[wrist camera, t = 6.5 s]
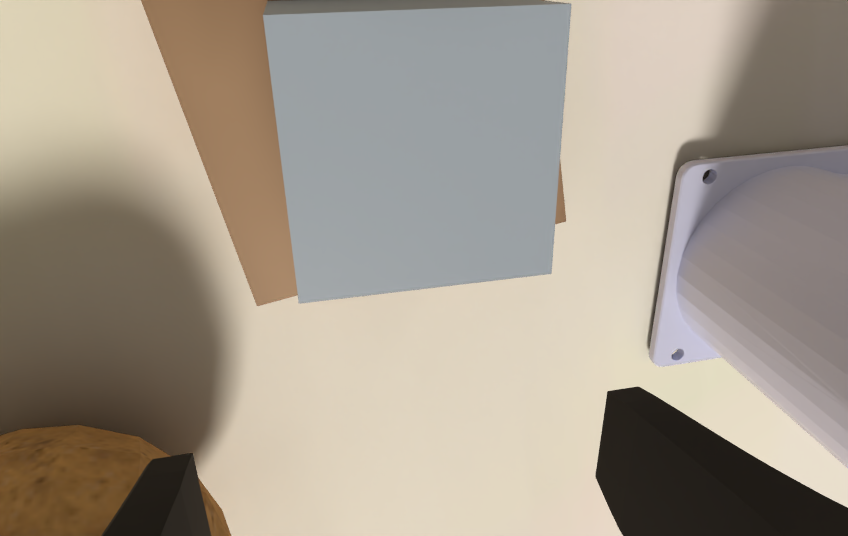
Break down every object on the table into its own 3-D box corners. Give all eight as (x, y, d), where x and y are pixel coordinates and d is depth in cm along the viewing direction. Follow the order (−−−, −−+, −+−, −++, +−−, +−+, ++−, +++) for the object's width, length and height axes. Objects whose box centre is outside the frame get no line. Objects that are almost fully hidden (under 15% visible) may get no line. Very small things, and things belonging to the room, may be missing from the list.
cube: (483, -7, 15) (570, 3, 10) (479, 194, 17) (551, 273, 13) (267, 1, 14) (263, 15, 9) (293, 212, 16) (299, 303, 12)
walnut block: (489, -130, 16) (530, -147, 14) (529, 188, 21) (566, 221, 18) (146, -55, 16) (118, -59, 13) (260, 260, 20) (257, 306, 17)
